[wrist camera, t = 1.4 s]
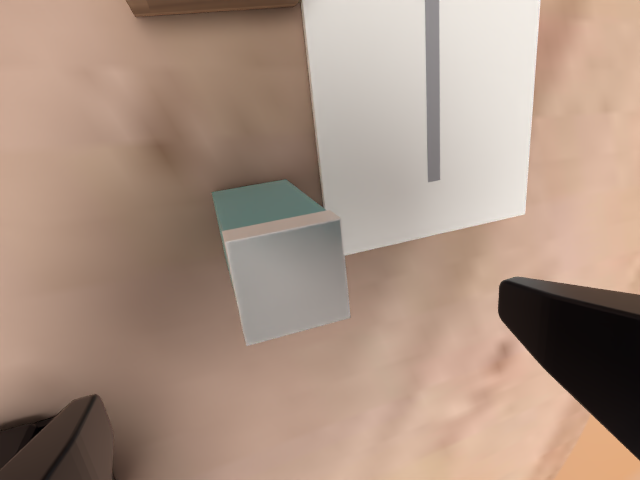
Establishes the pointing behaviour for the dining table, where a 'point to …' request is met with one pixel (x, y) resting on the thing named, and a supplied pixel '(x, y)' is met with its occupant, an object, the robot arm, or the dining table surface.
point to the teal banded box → (282, 259)
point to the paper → (421, 113)
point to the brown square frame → (201, 6)
